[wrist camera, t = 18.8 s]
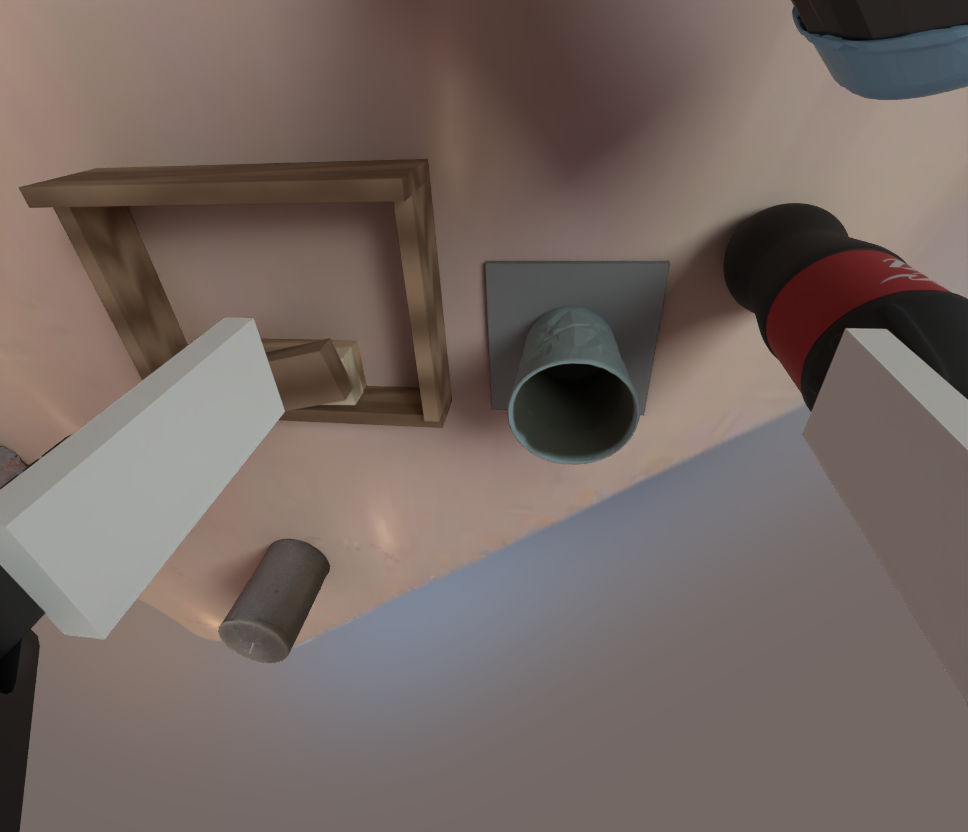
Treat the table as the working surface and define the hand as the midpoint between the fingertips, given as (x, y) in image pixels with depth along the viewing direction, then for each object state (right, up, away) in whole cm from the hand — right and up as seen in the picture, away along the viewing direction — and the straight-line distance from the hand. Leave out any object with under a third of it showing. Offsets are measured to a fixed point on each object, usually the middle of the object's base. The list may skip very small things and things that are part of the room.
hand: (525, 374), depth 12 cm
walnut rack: (-20, +11, +39) cm, 45 cm away
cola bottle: (+23, +13, +30) cm, 40 cm away
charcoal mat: (+8, +6, +37) cm, 39 cm away
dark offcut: (-21, +3, +39) cm, 44 cm away
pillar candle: (-29, -23, +65) cm, 75 cm away
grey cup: (+8, +6, +37) cm, 38 cm away
